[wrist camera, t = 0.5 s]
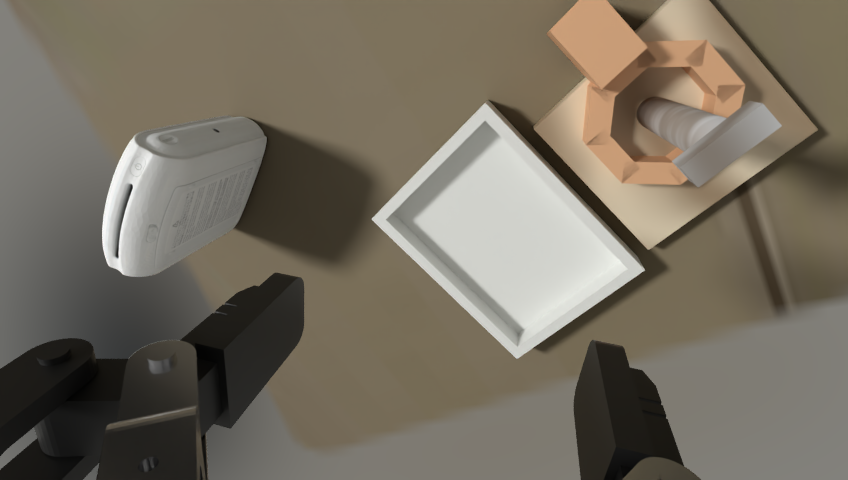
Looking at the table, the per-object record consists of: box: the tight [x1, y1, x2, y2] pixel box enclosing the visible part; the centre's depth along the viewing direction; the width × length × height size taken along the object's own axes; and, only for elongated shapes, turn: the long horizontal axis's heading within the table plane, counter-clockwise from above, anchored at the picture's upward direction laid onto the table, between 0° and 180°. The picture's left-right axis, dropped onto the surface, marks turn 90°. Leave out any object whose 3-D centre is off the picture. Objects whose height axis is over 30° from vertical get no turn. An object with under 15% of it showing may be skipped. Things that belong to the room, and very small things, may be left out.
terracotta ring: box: [547, 0, 745, 185], centre depth 28 cm, size 8×13×4 cm
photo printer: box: [102, 116, 267, 277], centre depth 34 cm, size 10×4×12 cm, turn 153°
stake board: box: [534, 0, 818, 250], centre depth 25 cm, size 12×12×14 cm
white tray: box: [372, 100, 645, 359], centre depth 35 cm, size 12×16×2 cm
